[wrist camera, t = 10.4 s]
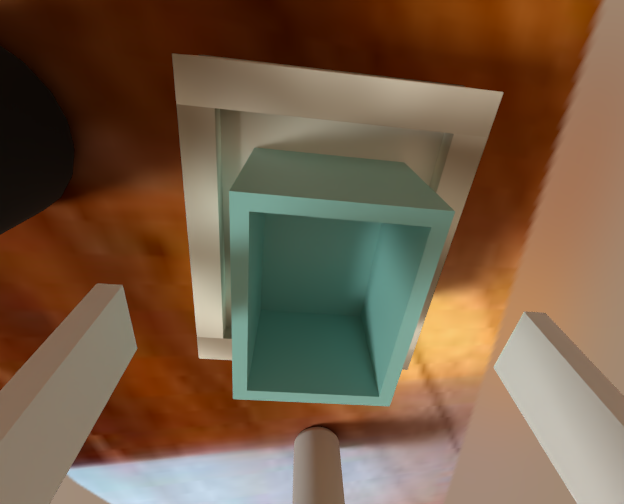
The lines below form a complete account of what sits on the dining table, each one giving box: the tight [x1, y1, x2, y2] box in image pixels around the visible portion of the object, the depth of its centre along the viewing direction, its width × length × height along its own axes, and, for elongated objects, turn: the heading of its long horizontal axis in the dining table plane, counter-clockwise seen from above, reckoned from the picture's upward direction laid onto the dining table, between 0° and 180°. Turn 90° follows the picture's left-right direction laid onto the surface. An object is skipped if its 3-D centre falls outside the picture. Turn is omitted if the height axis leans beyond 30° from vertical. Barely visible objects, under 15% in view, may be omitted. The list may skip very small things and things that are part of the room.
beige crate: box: [172, 53, 504, 370], centre depth 20 cm, size 16×13×7 cm
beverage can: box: [293, 427, 345, 504], centre depth 31 cm, size 5×5×12 cm
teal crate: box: [229, 148, 455, 406], centre depth 15 cm, size 10×7×6 cm
